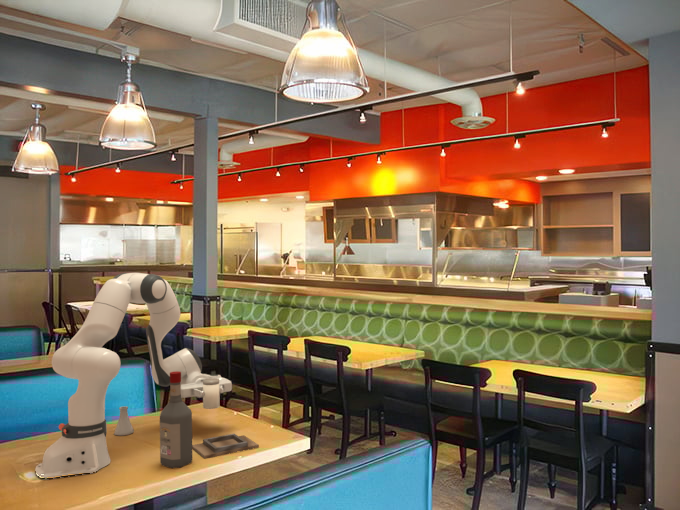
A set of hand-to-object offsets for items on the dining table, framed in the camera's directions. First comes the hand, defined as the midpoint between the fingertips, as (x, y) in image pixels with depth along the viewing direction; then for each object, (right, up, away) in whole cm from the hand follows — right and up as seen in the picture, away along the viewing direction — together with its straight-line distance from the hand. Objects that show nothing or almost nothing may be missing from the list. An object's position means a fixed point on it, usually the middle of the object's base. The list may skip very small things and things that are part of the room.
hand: (212, 392), depth 223 cm
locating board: (+7, -17, -10) cm, 21 cm away
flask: (-36, -18, +8) cm, 41 cm away
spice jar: (0, -5, +1) cm, 6 cm away
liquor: (-7, -18, -24) cm, 31 cm away
